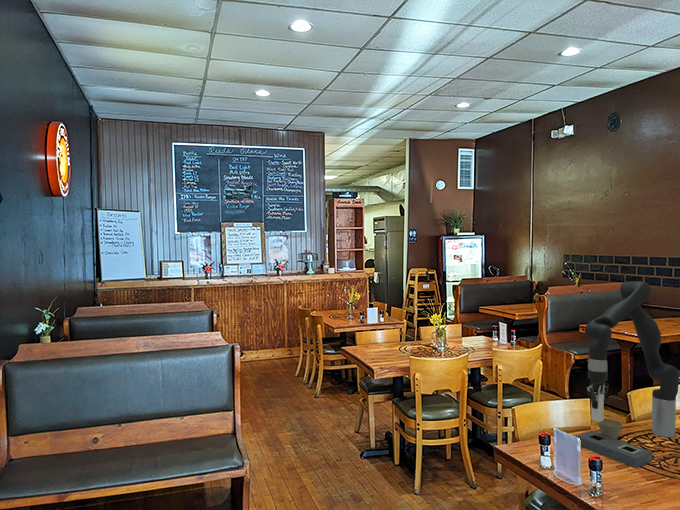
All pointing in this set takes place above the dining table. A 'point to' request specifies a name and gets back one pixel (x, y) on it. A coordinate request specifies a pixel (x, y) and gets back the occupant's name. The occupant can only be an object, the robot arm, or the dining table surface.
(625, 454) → the panel
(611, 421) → the flower pot
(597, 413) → the plug peg
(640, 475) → the dining table surface
